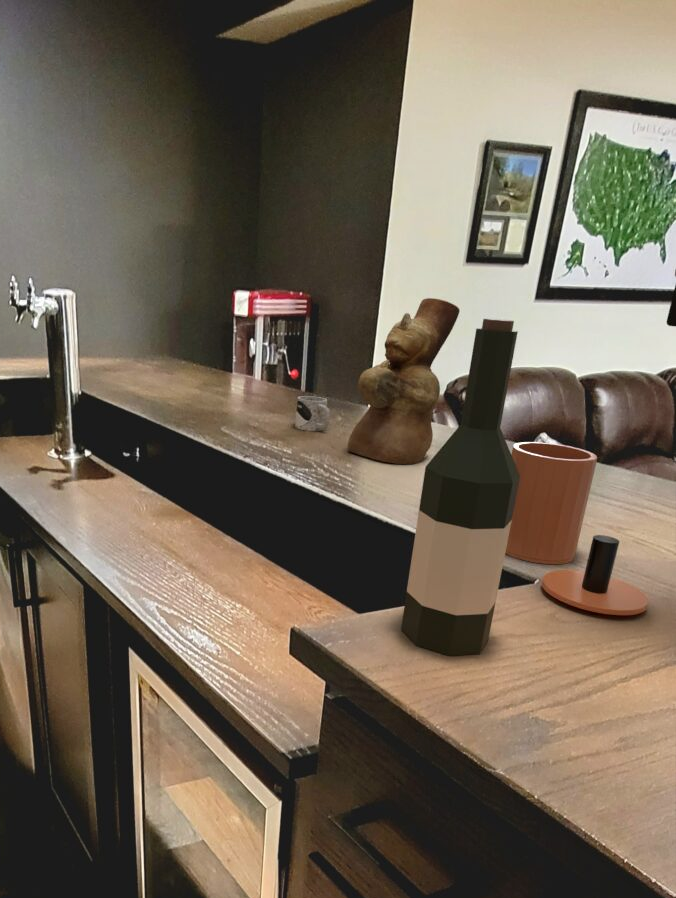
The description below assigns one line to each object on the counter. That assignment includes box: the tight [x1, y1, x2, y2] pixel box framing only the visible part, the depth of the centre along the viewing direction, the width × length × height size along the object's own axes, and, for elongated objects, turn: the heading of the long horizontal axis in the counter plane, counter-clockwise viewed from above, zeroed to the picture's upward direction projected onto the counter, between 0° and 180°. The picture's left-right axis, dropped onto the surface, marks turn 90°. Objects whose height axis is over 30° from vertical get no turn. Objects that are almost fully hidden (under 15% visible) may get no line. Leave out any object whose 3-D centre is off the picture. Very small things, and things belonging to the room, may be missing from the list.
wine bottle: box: [400, 318, 520, 657], centre depth 66 cm, size 8×8×30 cm
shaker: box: [505, 441, 598, 565], centre depth 93 cm, size 10×10×14 cm
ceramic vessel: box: [347, 297, 461, 465], centre depth 140 cm, size 16×22×30 cm
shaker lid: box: [541, 534, 649, 616], centre depth 80 cm, size 11×11×7 cm
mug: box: [294, 395, 331, 432], centre depth 162 cm, size 10×7×7 cm
